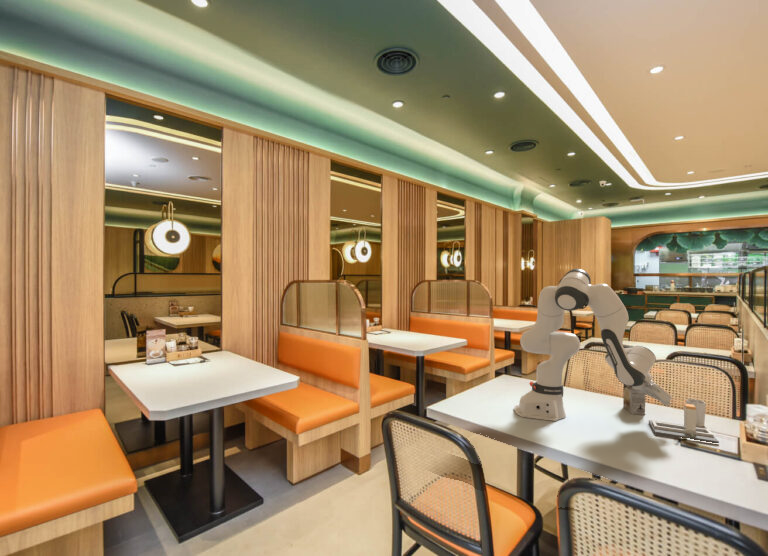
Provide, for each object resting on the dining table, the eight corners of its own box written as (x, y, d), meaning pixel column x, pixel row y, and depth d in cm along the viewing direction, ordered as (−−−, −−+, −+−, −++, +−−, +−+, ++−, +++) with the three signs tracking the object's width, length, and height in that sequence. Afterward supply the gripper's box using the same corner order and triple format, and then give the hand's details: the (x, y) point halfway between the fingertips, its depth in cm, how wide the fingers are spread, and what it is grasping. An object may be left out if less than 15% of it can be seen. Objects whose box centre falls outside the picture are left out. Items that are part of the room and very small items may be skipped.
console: (655, 435, 152) (655, 429, 152) (648, 423, 164) (648, 417, 164) (718, 445, 143) (718, 438, 143) (706, 432, 155) (706, 426, 155)
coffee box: (622, 407, 185) (622, 374, 185) (636, 408, 184) (637, 375, 184) (630, 413, 176) (631, 379, 176) (646, 414, 175) (646, 380, 175)
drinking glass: (689, 425, 162) (689, 402, 162) (683, 420, 169) (683, 398, 169) (708, 427, 160) (708, 404, 160) (701, 422, 166) (701, 399, 166)
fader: (686, 431, 152) (686, 406, 152) (684, 428, 155) (684, 403, 155) (695, 433, 150) (695, 407, 150) (693, 430, 153) (693, 404, 153)
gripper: (656, 378, 149) (687, 405, 145) (636, 371, 168) (662, 394, 165) (644, 388, 149) (674, 416, 146) (625, 380, 169) (651, 404, 166)
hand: (668, 404), depth 156 cm, fingers closed
